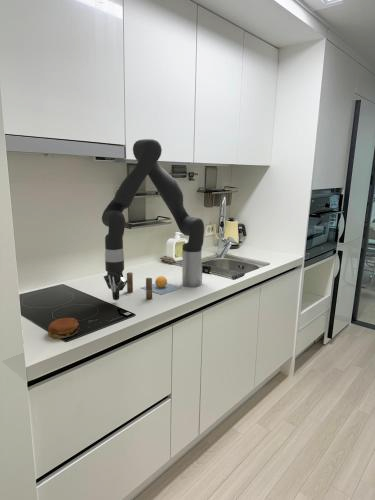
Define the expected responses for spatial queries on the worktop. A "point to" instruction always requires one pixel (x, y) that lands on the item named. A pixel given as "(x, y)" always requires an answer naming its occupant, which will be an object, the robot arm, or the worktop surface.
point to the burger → (63, 328)
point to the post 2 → (148, 288)
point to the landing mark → (163, 290)
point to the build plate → (206, 269)
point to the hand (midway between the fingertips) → (115, 299)
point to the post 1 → (129, 282)
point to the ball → (161, 281)
